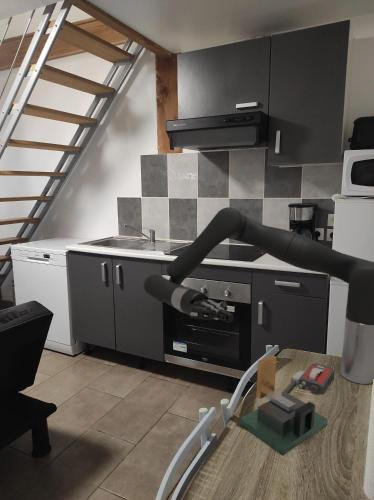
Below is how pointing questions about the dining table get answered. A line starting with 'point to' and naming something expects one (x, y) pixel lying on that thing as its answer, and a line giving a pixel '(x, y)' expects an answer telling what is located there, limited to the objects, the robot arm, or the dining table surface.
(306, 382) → the walkie-talkie
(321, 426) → the green tiered platform
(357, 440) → the dining table surface
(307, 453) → the dining table surface
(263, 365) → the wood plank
